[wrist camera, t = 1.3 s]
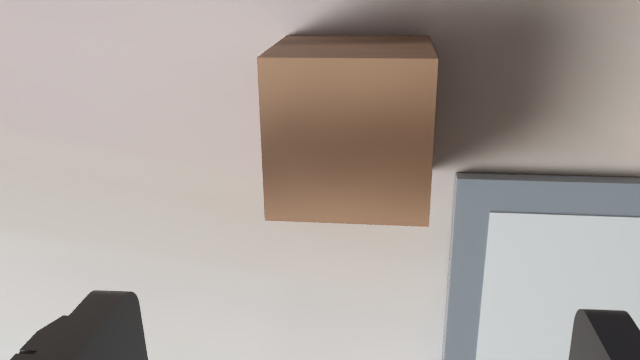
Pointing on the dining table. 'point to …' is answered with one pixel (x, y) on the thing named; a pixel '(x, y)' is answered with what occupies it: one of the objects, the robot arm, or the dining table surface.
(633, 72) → the dining table surface
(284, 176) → the walnut cube
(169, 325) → the dining table surface
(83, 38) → the dining table surface
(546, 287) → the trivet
